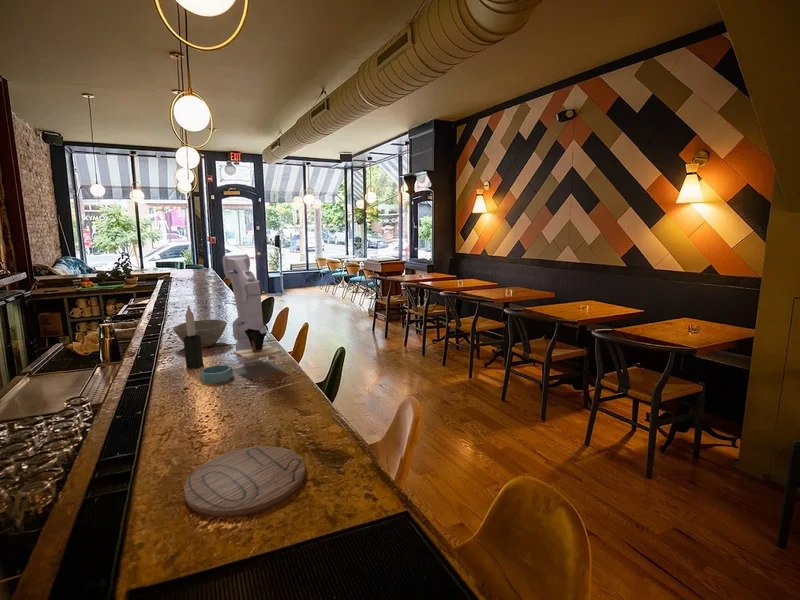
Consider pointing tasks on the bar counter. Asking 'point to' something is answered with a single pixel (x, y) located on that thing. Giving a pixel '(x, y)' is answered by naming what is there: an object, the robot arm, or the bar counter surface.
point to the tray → (258, 370)
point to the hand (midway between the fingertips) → (257, 348)
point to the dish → (216, 374)
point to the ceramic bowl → (204, 331)
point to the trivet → (244, 481)
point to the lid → (256, 352)
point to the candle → (192, 343)
